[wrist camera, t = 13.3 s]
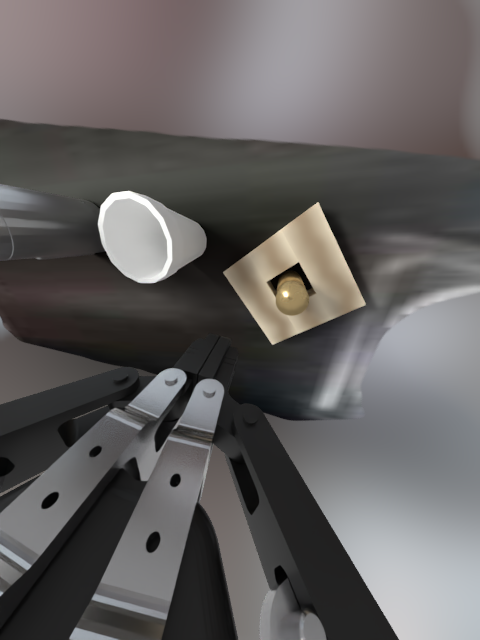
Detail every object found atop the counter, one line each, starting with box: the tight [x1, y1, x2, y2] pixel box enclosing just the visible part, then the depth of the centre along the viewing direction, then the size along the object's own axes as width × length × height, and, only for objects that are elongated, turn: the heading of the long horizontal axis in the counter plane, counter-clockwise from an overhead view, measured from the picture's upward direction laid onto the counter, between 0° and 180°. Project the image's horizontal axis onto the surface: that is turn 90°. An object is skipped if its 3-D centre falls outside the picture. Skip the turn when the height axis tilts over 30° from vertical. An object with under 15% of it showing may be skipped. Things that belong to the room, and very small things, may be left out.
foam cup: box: [98, 191, 207, 283], centre depth 25 cm, size 10×9×13 cm
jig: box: [223, 203, 366, 345], centre depth 28 cm, size 16×16×4 cm
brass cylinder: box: [276, 271, 309, 316], centre depth 25 cm, size 4×4×10 cm
